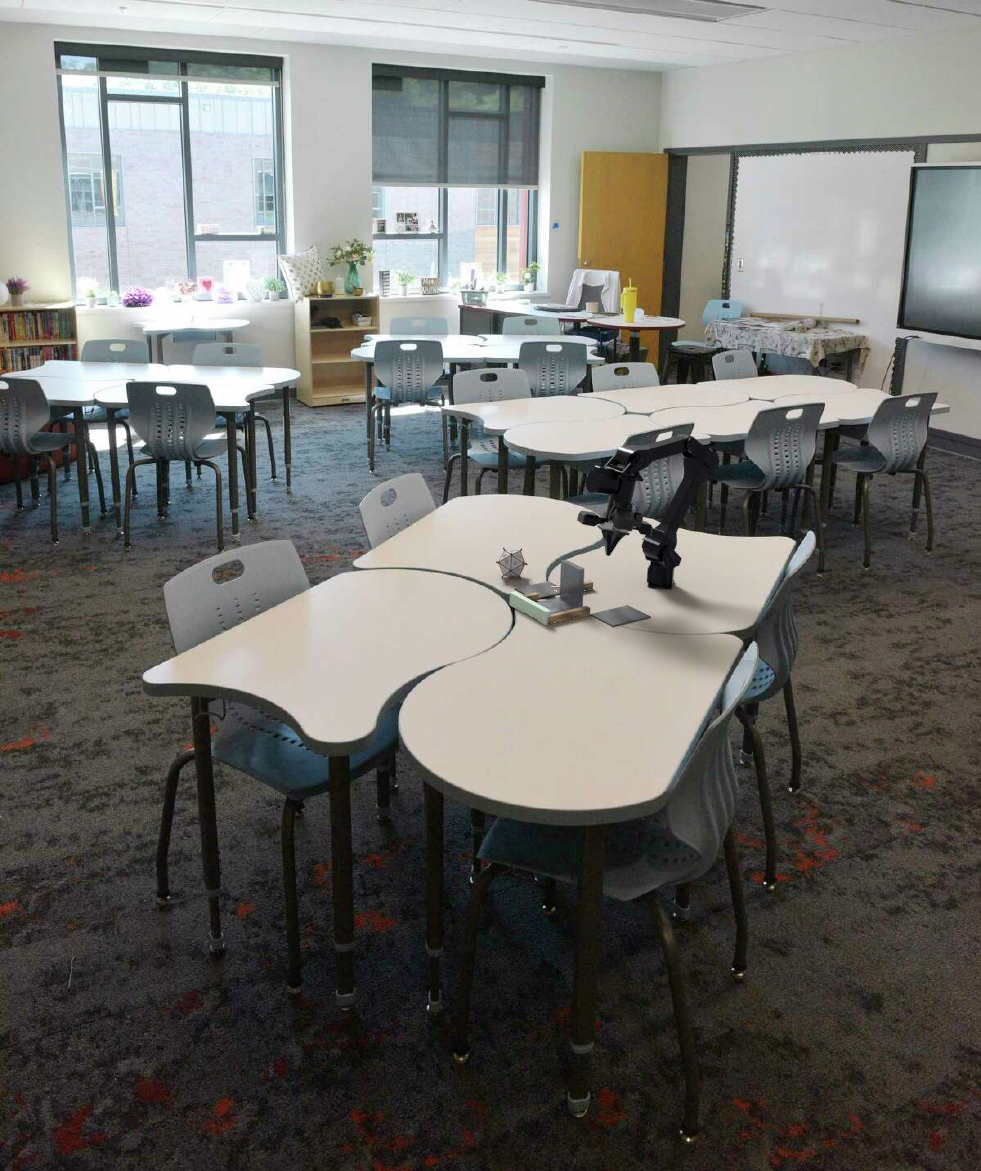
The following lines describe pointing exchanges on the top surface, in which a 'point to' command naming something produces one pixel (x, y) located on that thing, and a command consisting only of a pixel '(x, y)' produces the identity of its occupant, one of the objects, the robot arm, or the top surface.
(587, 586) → the trap lane
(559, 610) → the bookend
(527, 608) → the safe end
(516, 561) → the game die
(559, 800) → the top surface
